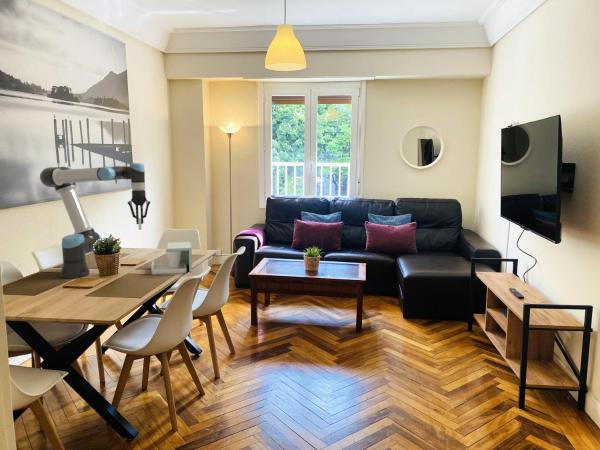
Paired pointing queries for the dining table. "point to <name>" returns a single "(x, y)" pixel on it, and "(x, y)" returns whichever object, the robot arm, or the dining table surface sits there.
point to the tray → (167, 269)
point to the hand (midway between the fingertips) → (140, 229)
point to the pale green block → (186, 252)
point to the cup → (174, 258)
